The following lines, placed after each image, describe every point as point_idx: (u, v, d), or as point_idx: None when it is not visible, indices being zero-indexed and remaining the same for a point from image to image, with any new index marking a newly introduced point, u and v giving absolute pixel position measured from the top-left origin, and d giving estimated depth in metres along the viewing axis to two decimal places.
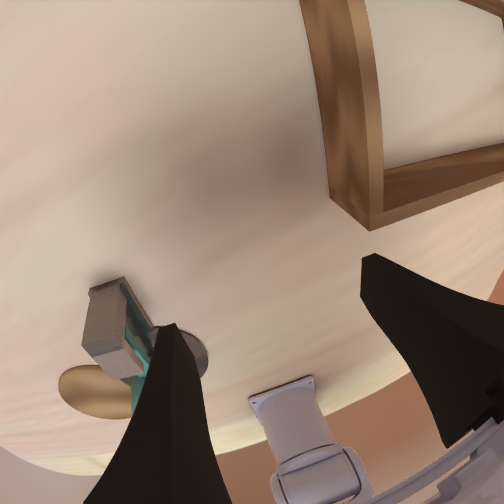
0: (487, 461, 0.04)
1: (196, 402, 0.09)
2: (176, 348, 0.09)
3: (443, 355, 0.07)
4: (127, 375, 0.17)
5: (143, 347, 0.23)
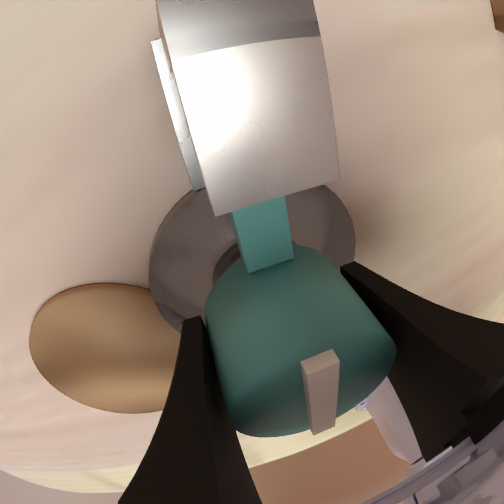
0: (487, 461, 0.04)
1: None
2: (204, 340, 0.09)
3: (419, 370, 0.07)
4: (280, 187, 0.05)
5: None
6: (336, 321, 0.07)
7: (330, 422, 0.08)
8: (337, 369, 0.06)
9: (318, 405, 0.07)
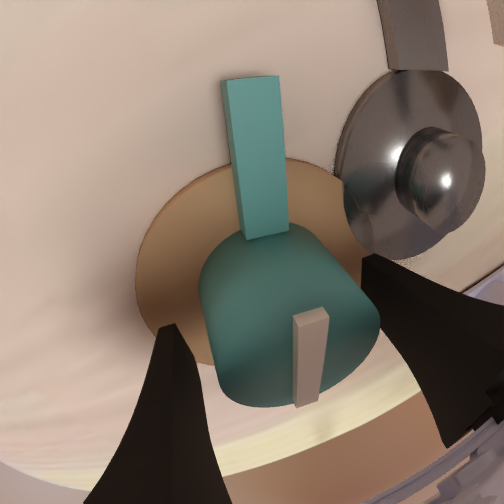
0: (487, 461, 0.04)
1: (196, 402, 0.09)
2: (176, 348, 0.09)
3: (443, 355, 0.07)
4: None
5: (426, 106, 0.09)
6: (326, 282, 0.08)
7: (314, 394, 0.09)
8: (326, 326, 0.07)
9: (305, 369, 0.08)
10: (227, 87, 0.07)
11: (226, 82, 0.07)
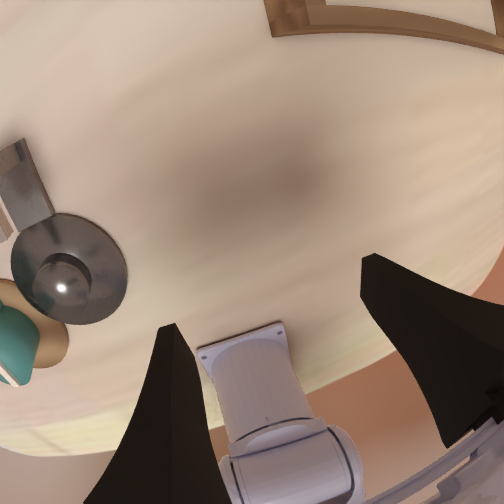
0: (487, 461, 0.04)
1: (196, 402, 0.09)
2: (176, 348, 0.09)
3: (443, 355, 0.07)
4: None
5: (43, 243, 0.16)
6: None
7: (13, 381, 0.16)
8: None
9: None
10: None
11: None
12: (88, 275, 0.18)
